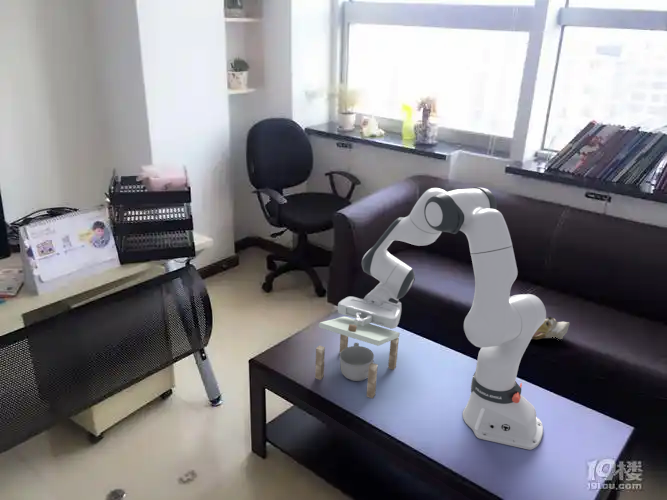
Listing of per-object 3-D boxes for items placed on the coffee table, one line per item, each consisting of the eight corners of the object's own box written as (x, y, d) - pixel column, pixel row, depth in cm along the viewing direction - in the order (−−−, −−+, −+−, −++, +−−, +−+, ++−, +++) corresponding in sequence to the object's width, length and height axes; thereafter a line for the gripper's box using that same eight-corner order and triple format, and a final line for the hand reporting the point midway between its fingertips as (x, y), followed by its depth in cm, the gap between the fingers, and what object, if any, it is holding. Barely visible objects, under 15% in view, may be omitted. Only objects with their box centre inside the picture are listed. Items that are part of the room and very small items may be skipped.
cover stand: (396, 366, 191) (399, 337, 187) (372, 398, 175) (374, 367, 171) (342, 348, 199) (344, 320, 195) (315, 378, 183) (316, 348, 179)
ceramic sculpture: (572, 325, 202) (528, 322, 205) (569, 347, 206) (525, 343, 209) (567, 311, 212) (525, 308, 215) (564, 332, 215) (522, 328, 218)
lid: (398, 337, 186) (400, 328, 186) (378, 345, 169) (380, 335, 169) (343, 320, 194) (345, 311, 194) (318, 327, 177) (320, 317, 177)
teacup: (369, 388, 180) (371, 366, 177) (335, 382, 182) (336, 361, 179) (375, 363, 192) (377, 342, 189) (343, 358, 194) (345, 337, 191)
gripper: (348, 288, 193) (329, 305, 182) (405, 303, 185) (389, 323, 173) (347, 304, 196) (328, 322, 184) (404, 320, 187) (387, 340, 176)
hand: (358, 323), depth 179 cm, fingers closed
